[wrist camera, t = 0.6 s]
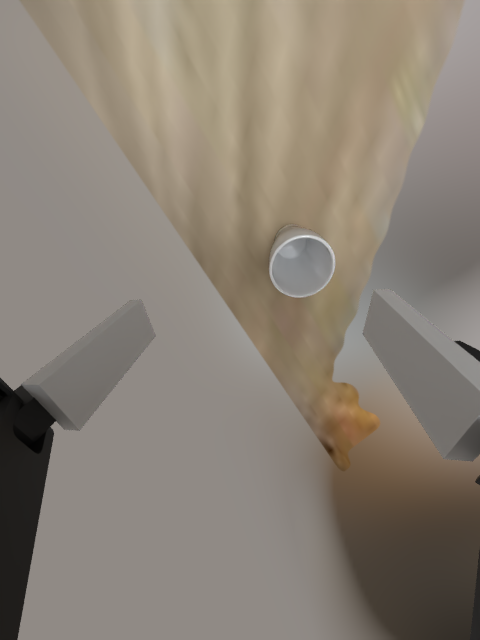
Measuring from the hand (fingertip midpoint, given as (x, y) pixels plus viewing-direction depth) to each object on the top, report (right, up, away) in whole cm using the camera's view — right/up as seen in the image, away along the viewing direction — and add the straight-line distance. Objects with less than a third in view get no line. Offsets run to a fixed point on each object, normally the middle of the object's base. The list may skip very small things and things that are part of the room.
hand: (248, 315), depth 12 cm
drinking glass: (+8, +13, +22) cm, 27 cm away
